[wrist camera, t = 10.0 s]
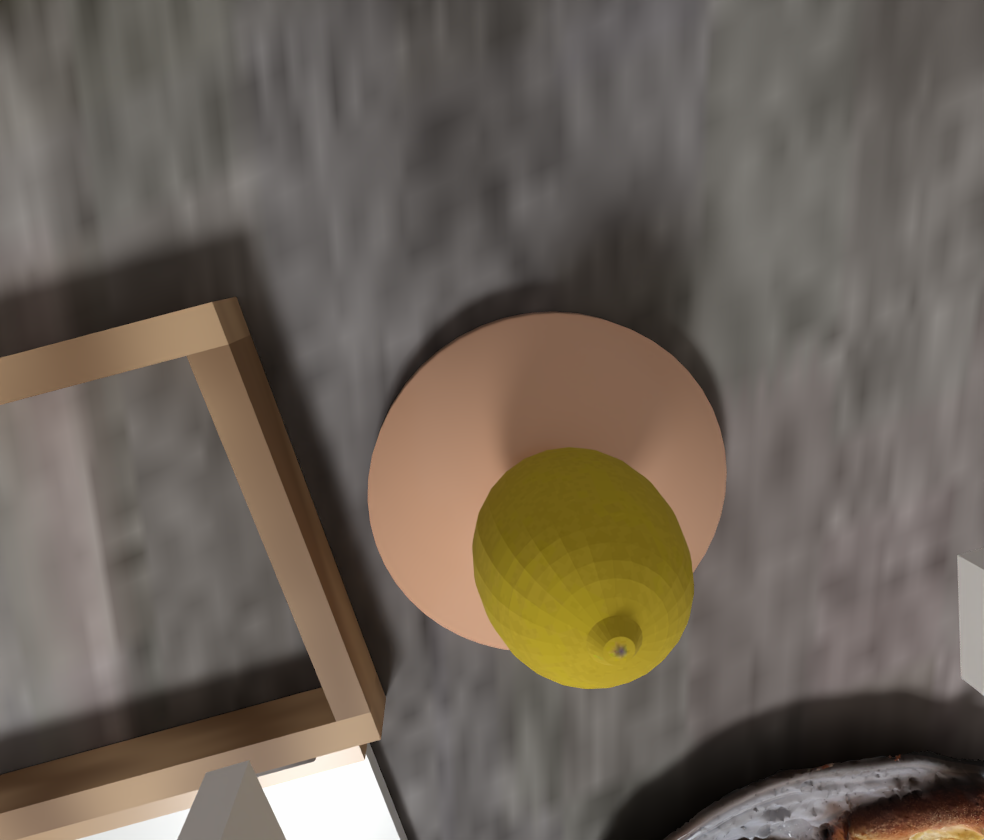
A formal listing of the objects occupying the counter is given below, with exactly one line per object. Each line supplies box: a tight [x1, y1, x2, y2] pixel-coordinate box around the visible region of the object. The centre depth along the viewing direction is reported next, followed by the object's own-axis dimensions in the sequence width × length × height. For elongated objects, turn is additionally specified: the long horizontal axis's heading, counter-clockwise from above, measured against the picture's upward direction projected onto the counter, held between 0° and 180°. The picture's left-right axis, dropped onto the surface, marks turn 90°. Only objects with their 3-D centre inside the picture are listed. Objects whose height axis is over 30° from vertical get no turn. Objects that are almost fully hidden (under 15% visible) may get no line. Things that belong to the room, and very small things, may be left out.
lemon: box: [472, 447, 694, 689], centre depth 16 cm, size 6×6×8 cm
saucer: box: [368, 311, 727, 650], centre depth 20 cm, size 12×12×1 cm
